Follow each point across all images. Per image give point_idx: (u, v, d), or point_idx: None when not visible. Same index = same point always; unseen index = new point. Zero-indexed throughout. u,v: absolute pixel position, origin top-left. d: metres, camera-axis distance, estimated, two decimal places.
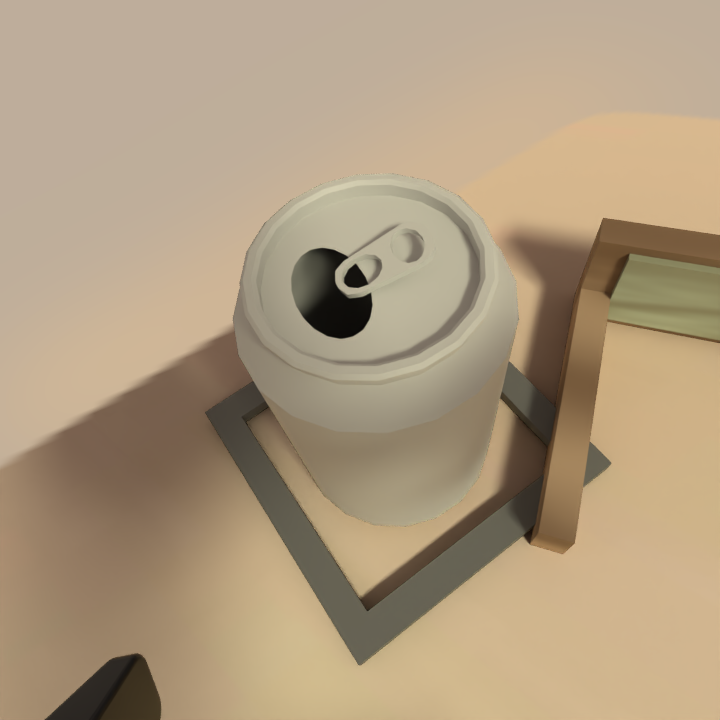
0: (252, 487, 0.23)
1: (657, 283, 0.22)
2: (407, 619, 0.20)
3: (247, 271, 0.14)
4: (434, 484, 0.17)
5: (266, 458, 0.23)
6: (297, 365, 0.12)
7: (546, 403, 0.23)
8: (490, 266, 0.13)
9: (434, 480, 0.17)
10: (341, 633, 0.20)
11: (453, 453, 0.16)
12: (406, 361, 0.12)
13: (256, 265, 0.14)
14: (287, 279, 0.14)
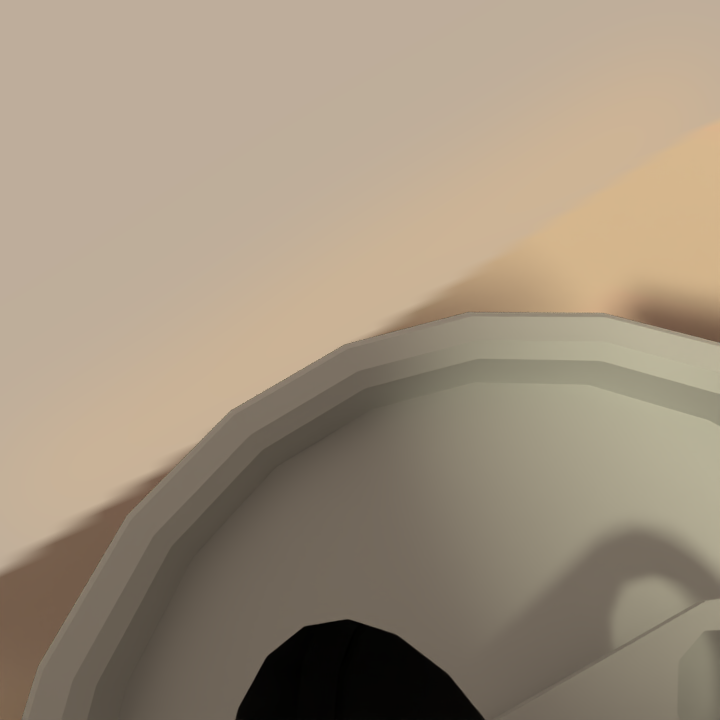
0: None
1: None
2: None
3: None
4: None
5: None
6: None
7: None
8: None
9: None
10: None
11: None
12: None
13: None
14: None
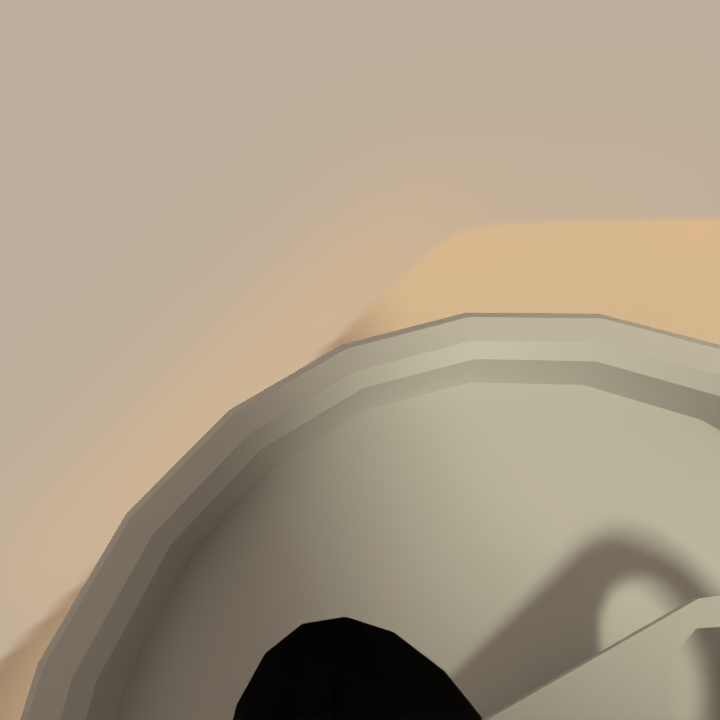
0: None
1: None
2: None
3: None
4: None
5: None
6: None
7: None
8: None
9: None
10: None
11: None
12: None
13: None
14: None
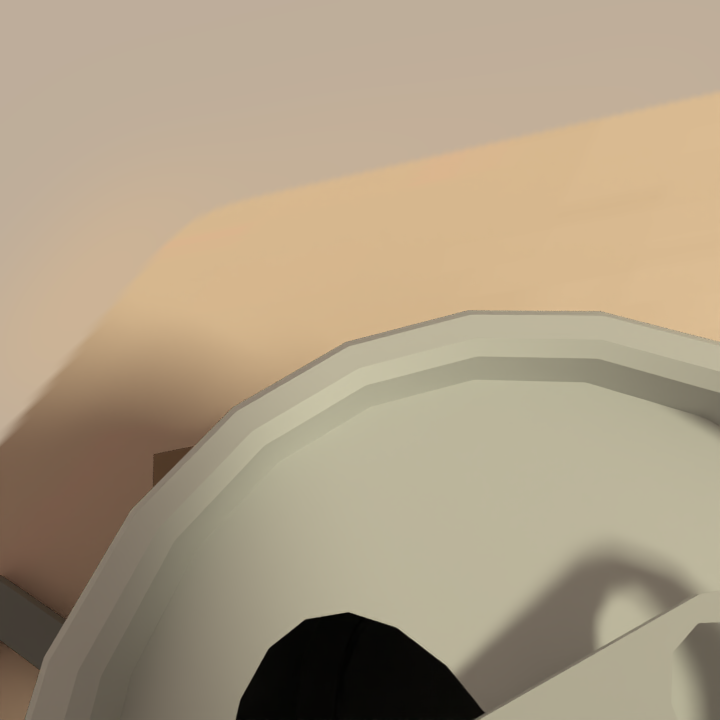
0: None
1: None
2: None
3: None
4: None
5: None
6: None
7: None
8: None
9: None
10: None
11: None
12: None
13: None
14: None
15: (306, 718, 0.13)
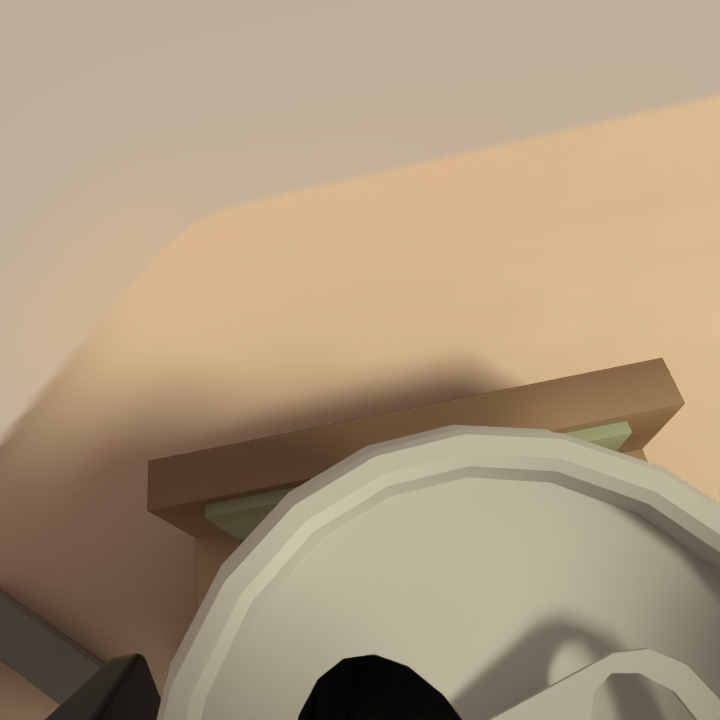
0: None
1: None
2: None
3: None
4: None
5: None
6: None
7: None
8: None
9: None
10: None
11: None
12: None
13: None
14: None
15: None
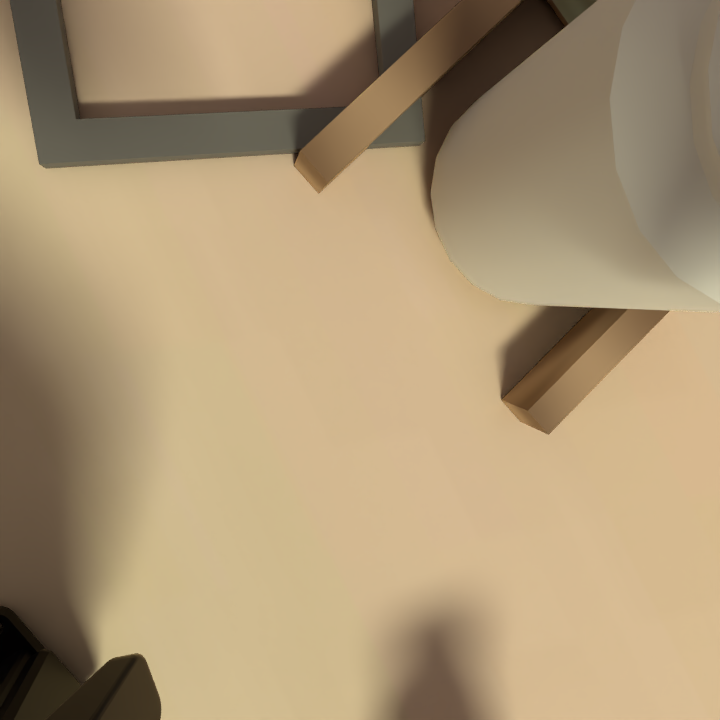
0: None
1: None
2: (118, 154, 0.17)
3: None
4: (536, 281, 0.15)
5: None
6: (713, 73, 0.08)
7: (411, 35, 0.18)
8: None
9: (543, 281, 0.15)
10: (34, 123, 0.16)
11: (594, 292, 0.14)
12: None
13: None
14: None
15: None
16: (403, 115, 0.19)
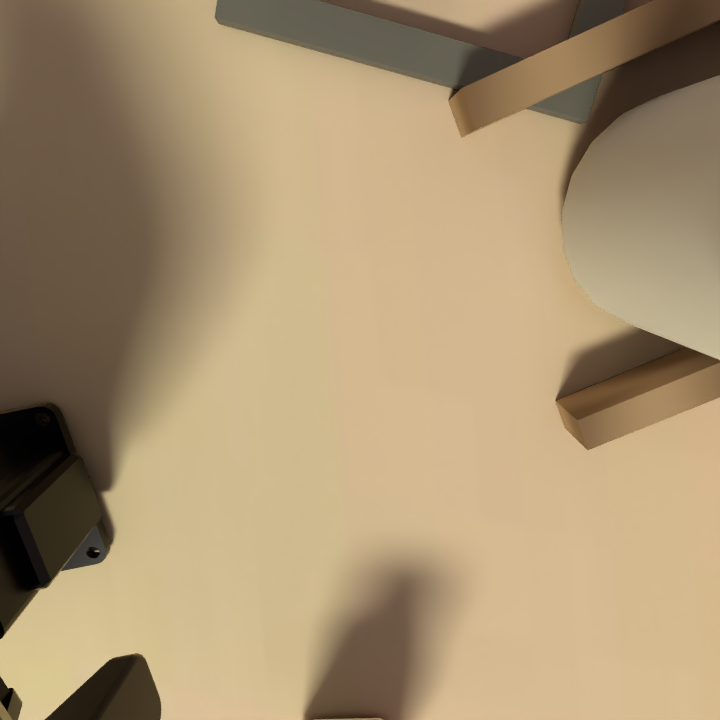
0: None
1: None
2: (289, 32, 0.17)
3: None
4: (643, 300, 0.15)
5: None
6: None
7: (619, 5, 0.17)
8: None
9: (650, 302, 0.14)
10: None
11: (697, 333, 0.13)
12: None
13: None
14: None
15: None
16: (576, 86, 0.18)
